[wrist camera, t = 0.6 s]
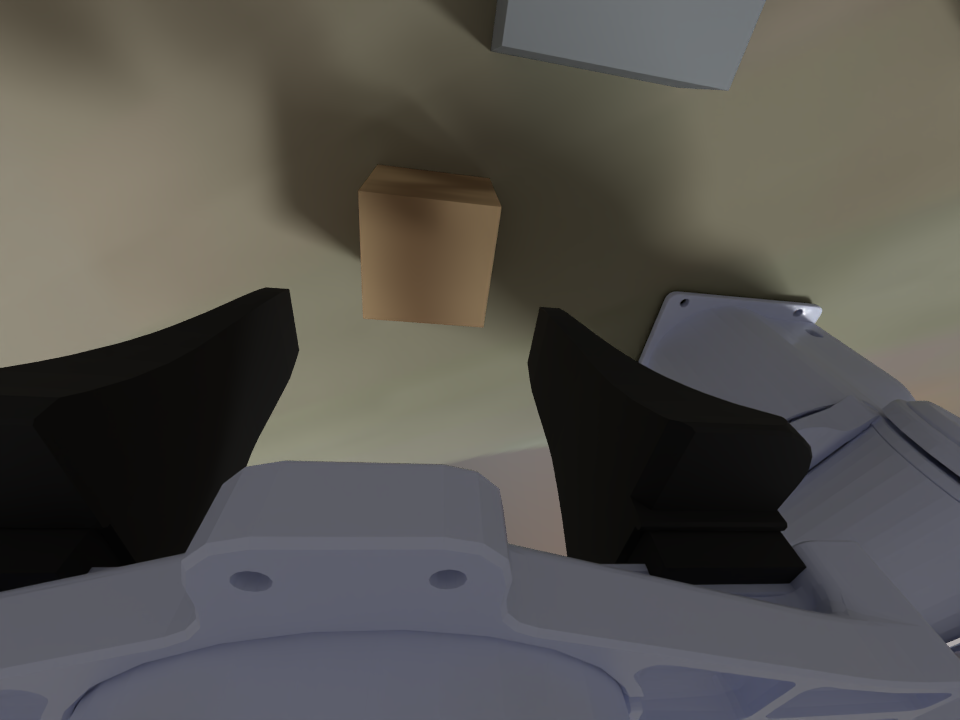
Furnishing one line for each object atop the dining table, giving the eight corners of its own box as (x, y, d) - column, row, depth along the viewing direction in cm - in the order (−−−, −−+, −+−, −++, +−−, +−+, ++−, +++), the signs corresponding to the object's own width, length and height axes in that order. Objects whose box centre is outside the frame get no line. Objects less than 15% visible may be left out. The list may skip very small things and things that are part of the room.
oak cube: (489, 177, 19) (501, 207, 15) (476, 279, 22) (483, 327, 17) (377, 164, 18) (358, 190, 14) (379, 270, 21) (363, 318, 17)
